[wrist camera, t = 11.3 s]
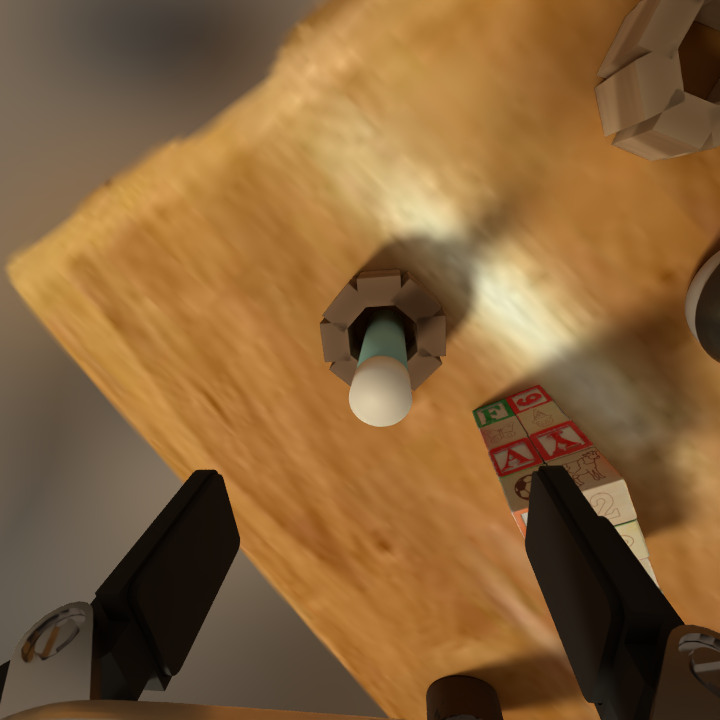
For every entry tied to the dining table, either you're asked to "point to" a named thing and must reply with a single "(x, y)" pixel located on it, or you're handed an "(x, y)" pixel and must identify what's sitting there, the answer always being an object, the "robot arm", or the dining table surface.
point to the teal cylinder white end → (382, 373)
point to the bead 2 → (657, 83)
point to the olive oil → (462, 700)
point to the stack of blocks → (554, 461)
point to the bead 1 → (384, 292)
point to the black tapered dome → (705, 306)
